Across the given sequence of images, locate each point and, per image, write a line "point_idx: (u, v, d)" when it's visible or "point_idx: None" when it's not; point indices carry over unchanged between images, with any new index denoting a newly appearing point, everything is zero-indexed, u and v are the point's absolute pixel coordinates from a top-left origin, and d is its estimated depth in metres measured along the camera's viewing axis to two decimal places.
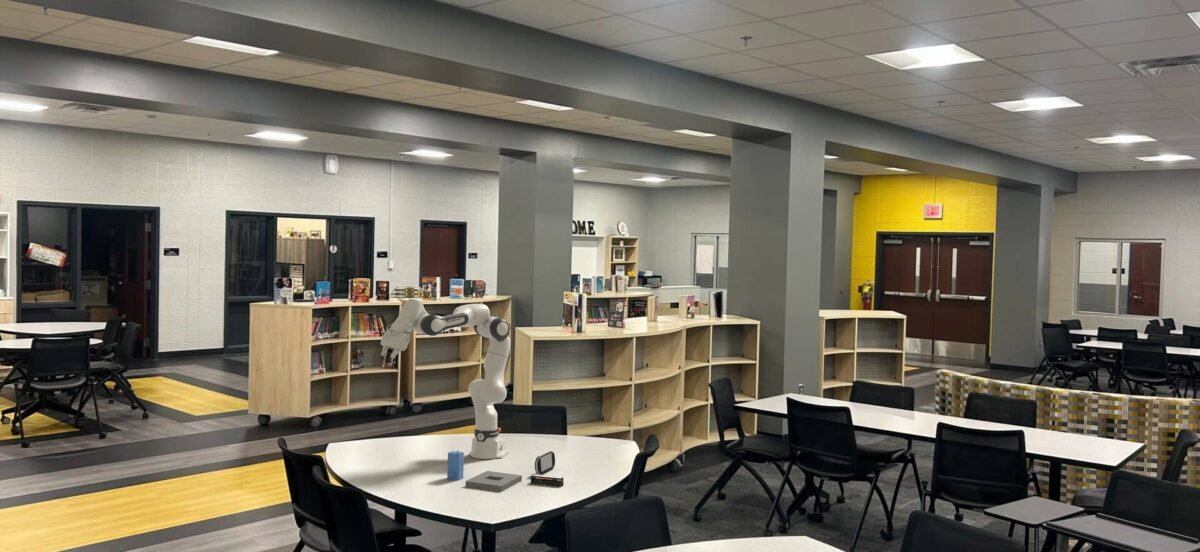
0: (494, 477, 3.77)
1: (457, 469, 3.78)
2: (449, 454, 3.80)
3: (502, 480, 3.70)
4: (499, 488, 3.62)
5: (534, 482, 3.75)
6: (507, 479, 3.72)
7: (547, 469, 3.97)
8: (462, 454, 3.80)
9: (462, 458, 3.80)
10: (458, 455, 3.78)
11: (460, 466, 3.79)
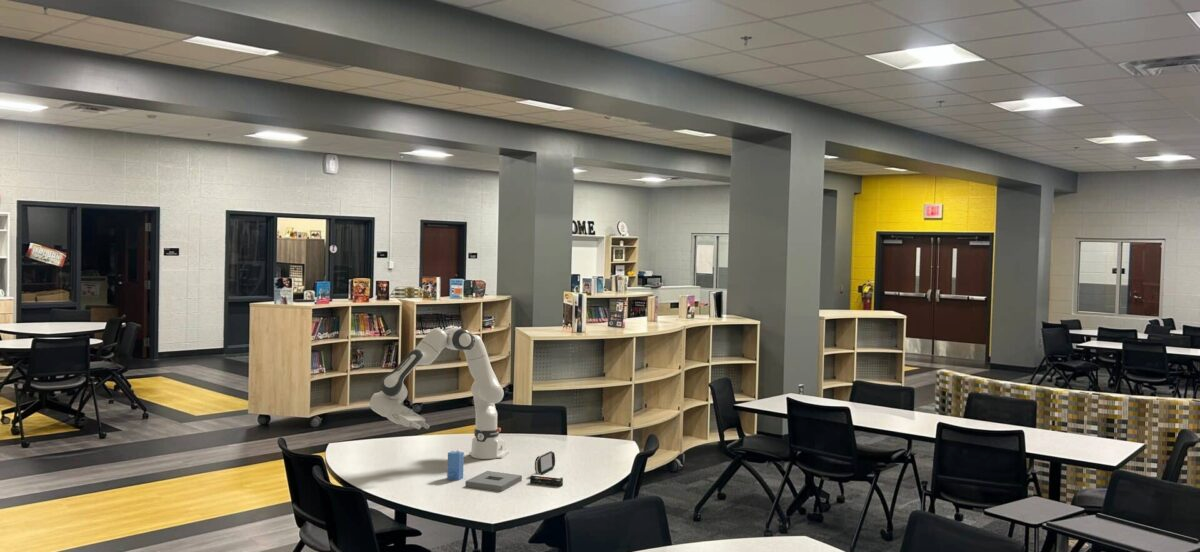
0: (494, 477, 3.77)
1: (457, 469, 3.78)
2: (449, 454, 3.80)
3: (502, 480, 3.70)
4: (499, 488, 3.62)
5: (533, 482, 3.75)
6: (507, 479, 3.72)
7: (547, 469, 3.97)
8: (462, 454, 3.80)
9: (462, 458, 3.80)
10: (458, 455, 3.78)
11: (460, 466, 3.79)
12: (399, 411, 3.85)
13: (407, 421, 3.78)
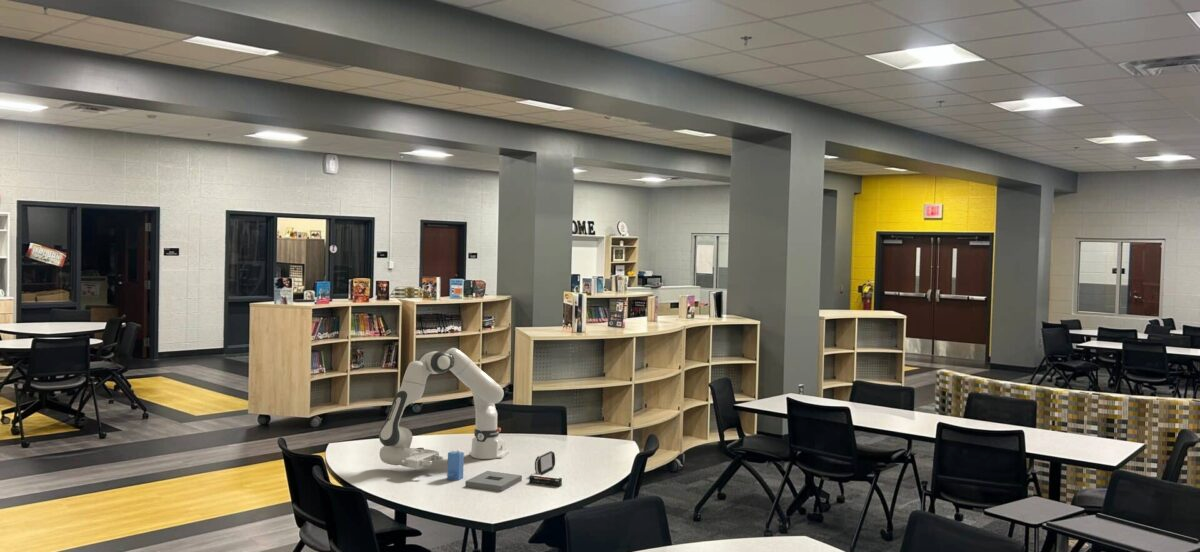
0: (494, 477, 3.77)
1: (457, 469, 3.78)
2: (449, 454, 3.80)
3: (502, 480, 3.70)
4: (499, 488, 3.62)
5: (533, 482, 3.76)
6: (507, 479, 3.72)
7: (547, 469, 3.97)
8: (462, 454, 3.80)
9: (462, 458, 3.80)
10: (458, 455, 3.78)
11: (460, 466, 3.79)
12: (407, 455, 3.85)
13: (415, 462, 3.77)
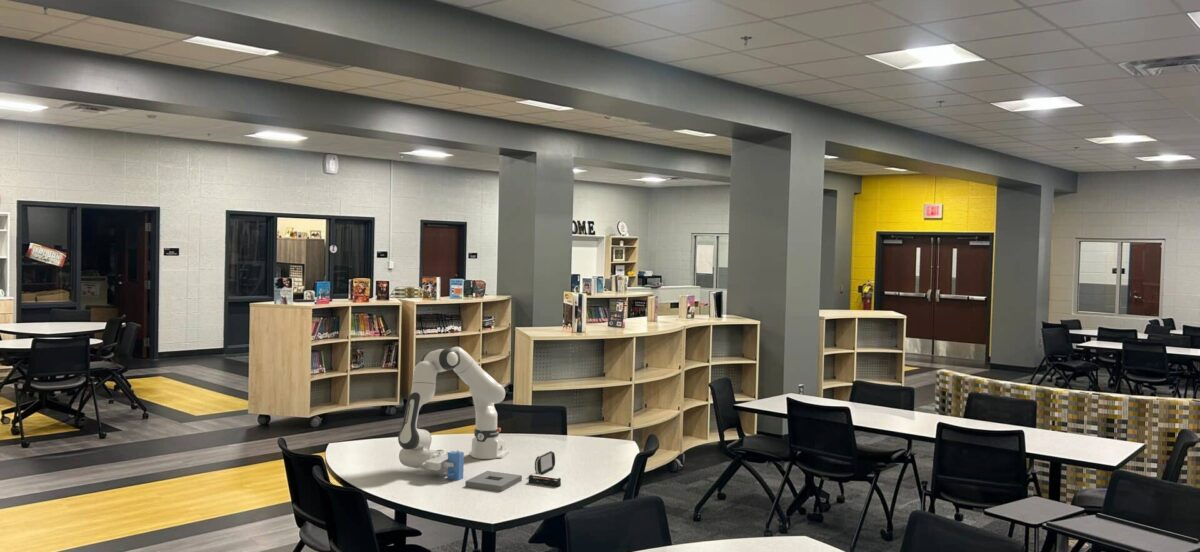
0: (494, 477, 3.77)
1: (457, 469, 3.78)
2: (449, 454, 3.80)
3: (502, 480, 3.70)
4: (499, 488, 3.62)
5: (532, 481, 3.76)
6: (507, 479, 3.72)
7: (547, 469, 3.97)
8: (462, 454, 3.80)
9: (462, 458, 3.80)
10: (458, 455, 3.78)
11: (460, 466, 3.79)
12: (428, 457, 3.81)
13: (436, 465, 3.73)
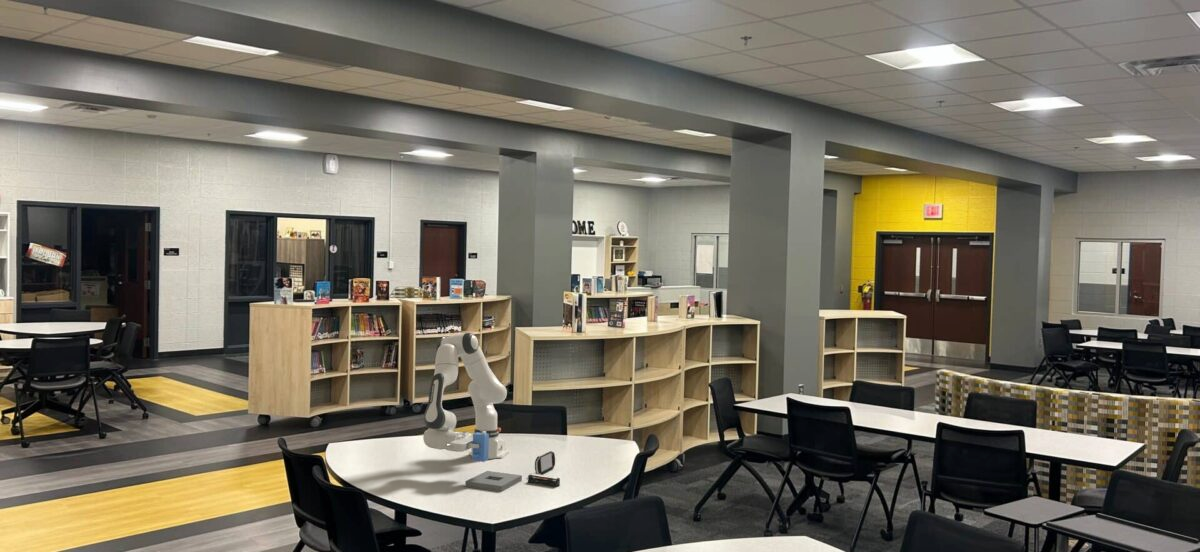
0: (494, 477, 3.77)
1: (482, 451, 3.73)
2: (474, 435, 3.75)
3: (502, 480, 3.70)
4: (499, 488, 3.62)
5: (531, 481, 3.76)
6: (507, 479, 3.72)
7: (547, 469, 3.97)
8: (487, 435, 3.75)
9: (487, 440, 3.75)
10: (483, 436, 3.73)
11: (485, 447, 3.74)
12: (452, 439, 3.77)
13: (461, 446, 3.68)
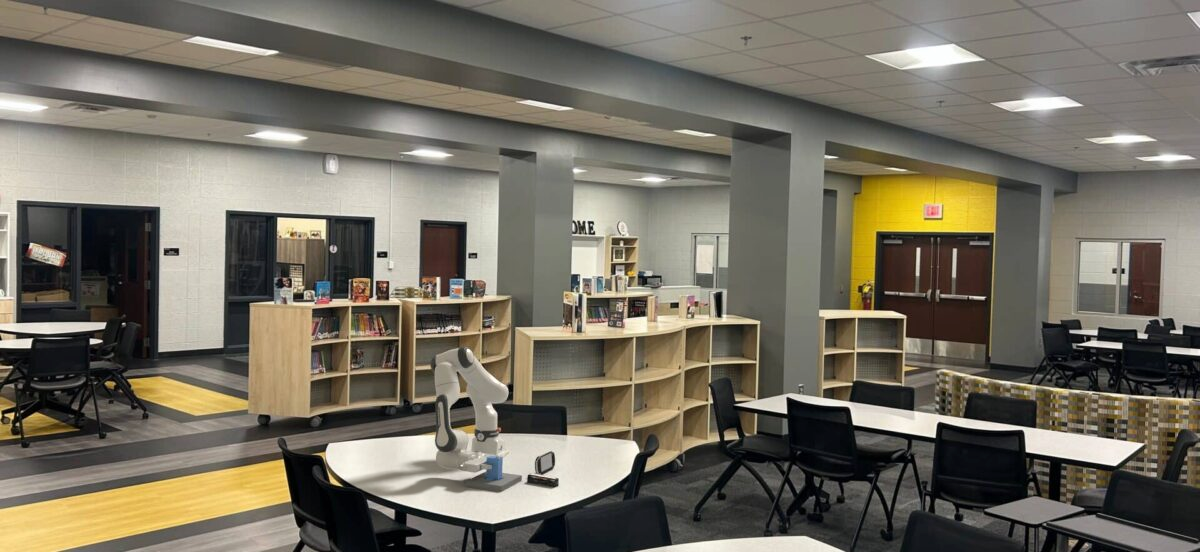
0: None
1: (496, 474, 3.71)
2: (488, 459, 3.73)
3: (502, 480, 3.70)
4: (499, 488, 3.62)
5: (530, 481, 3.77)
6: (507, 479, 3.72)
7: (547, 469, 3.97)
8: (501, 458, 3.73)
9: (501, 463, 3.73)
10: (497, 460, 3.71)
11: (499, 471, 3.72)
12: (466, 459, 3.74)
13: (475, 466, 3.66)
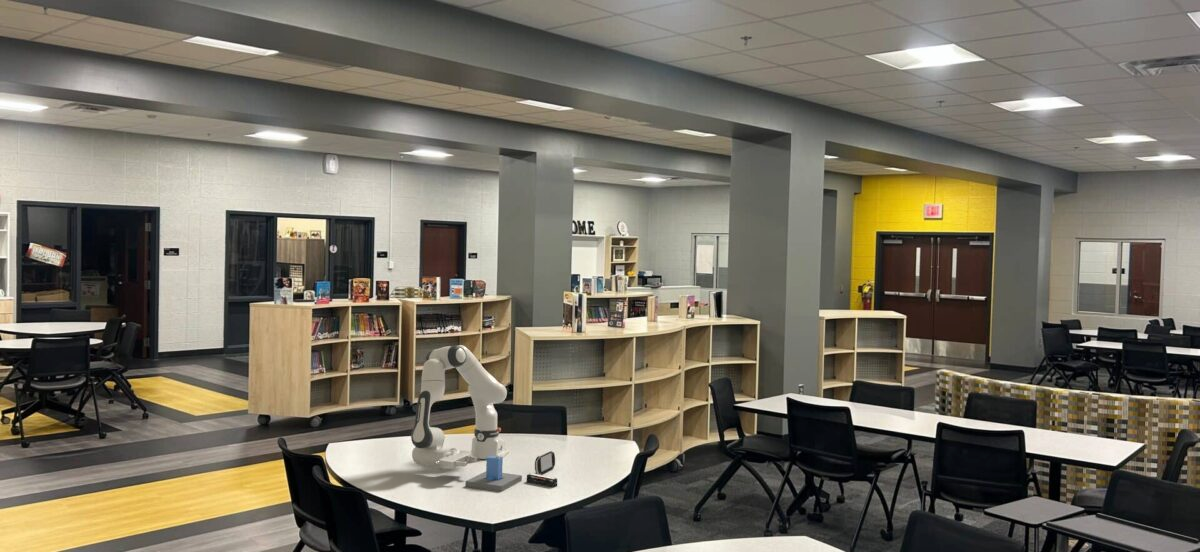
0: None
1: (496, 474, 3.71)
2: (488, 459, 3.73)
3: (502, 480, 3.70)
4: (499, 488, 3.62)
5: (529, 481, 3.77)
6: (507, 479, 3.72)
7: (547, 469, 3.97)
8: (501, 458, 3.73)
9: (501, 463, 3.73)
10: (497, 460, 3.71)
11: (499, 471, 3.72)
12: (441, 456, 3.79)
13: (450, 463, 3.71)
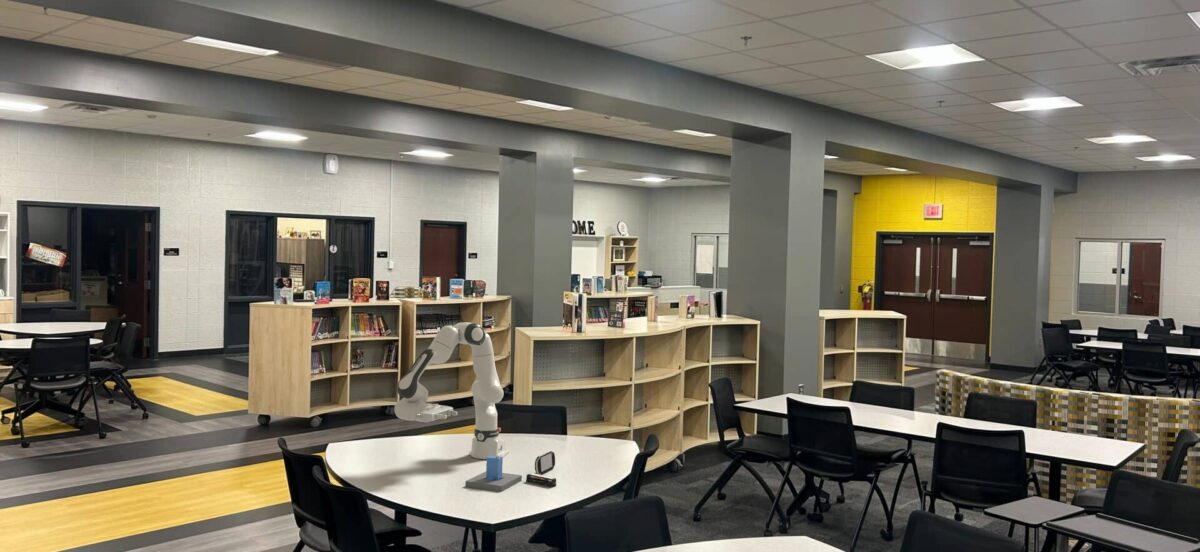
0: None
1: (496, 474, 3.71)
2: (488, 459, 3.73)
3: (502, 480, 3.70)
4: (499, 488, 3.62)
5: (529, 481, 3.77)
6: (507, 479, 3.72)
7: (547, 469, 3.97)
8: (501, 458, 3.73)
9: (501, 463, 3.73)
10: (497, 460, 3.71)
11: (499, 471, 3.72)
12: (422, 409, 3.87)
13: (430, 415, 3.79)
